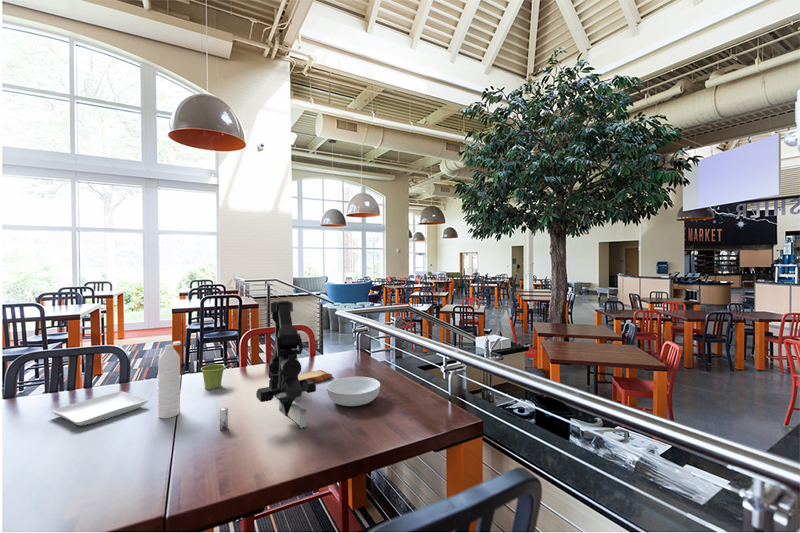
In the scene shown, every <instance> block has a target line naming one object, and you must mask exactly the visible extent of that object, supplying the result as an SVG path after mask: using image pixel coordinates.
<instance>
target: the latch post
mask: <svg viewBox="0 0 800 533" xmlns="http://www.w3.org/2000/svg"><path fill="white" fill-rule="evenodd" d="M228 429H229V408H228V407H226V406H225V407H222V408H219V431H226V430H228Z"/></svg>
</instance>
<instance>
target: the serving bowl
mask: <svg viewBox="0 0 800 533" xmlns="http://www.w3.org/2000/svg"><path fill="white" fill-rule="evenodd" d="M380 390H381V382H380V381H379V380H377V379H376V378H373V377H367V376H348V377H347V376H346V377H342V378H337V379H334V380H331V381H330V382H329V383H327V384H326V392H327V395H328V397H329V399H330V400H331V401H332V402H333V403H335V404H337V405H340V406H344V407H358V406H364V405H367V404H369V403H370V402H372V401H374V400H375V399H376V398H377V396H378V395H379V392H380Z"/></svg>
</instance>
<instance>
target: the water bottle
mask: <svg viewBox="0 0 800 533" xmlns="http://www.w3.org/2000/svg"><path fill="white" fill-rule="evenodd" d="M181 343H182V342H181V341H180V340H178V341H173V342H172V344H166V345H165V346H164V350H163V352H161V354H160V356H159V357H158V359H157V363H158V364H157V365H158V374H157V375H158V380H157V384H158V389H157V392H158V394H157V397H158V399H157V400H158V401H157V402H158V403H157V409H158V411H157V412H158V413H157V416H158V418H159V419H170V418H173V417H177V416H178V415H179V414H180V413H181V406H180V405H181V395H180V394H181V366H180V365H181V364H180V363H181V356H180V354H179V353H178V352H177V351H176V349H175V348H174V346H175V345H176V346H180V345H181Z"/></svg>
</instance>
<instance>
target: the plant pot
mask: <svg viewBox="0 0 800 533" xmlns="http://www.w3.org/2000/svg"><path fill="white" fill-rule="evenodd" d="M225 368H226V366H225V365H224V364H218V363H217V364H216V363H215V364H209V365H205V366H203V367H201V368H200V371H201V372H202V376H203V383H204V389H206V390H215V389H217V388H218V389H220V388H221V386H222V379H223V374H224V370H225Z"/></svg>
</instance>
